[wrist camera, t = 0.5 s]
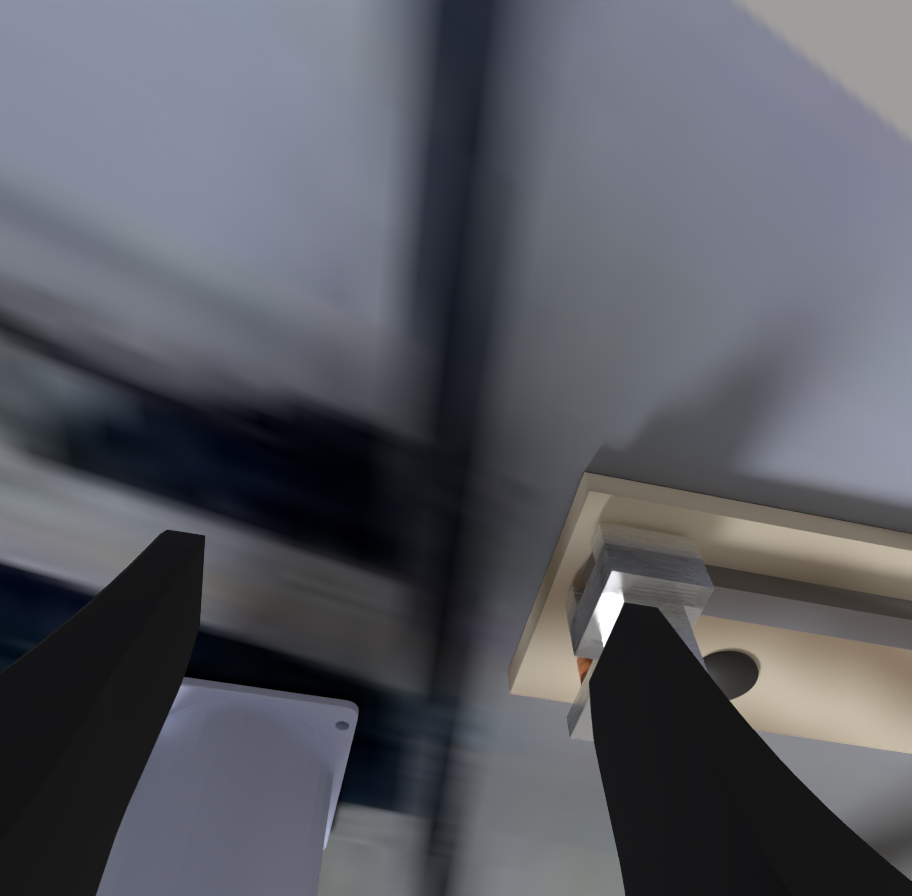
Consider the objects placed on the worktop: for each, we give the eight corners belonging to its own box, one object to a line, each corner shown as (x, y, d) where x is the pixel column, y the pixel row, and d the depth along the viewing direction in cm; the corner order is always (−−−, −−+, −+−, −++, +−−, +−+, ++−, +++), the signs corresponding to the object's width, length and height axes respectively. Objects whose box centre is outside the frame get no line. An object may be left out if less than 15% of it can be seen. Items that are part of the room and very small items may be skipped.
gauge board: (993, 745, 31) (1025, 791, 29) (507, 671, 28) (511, 716, 26) (1149, 578, 26) (1197, 621, 24) (584, 471, 23) (594, 511, 22)
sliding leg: (616, 692, 27) (649, 835, 22) (533, 679, 26) (550, 822, 22) (692, 538, 23) (750, 672, 19) (598, 521, 23) (634, 654, 18)
